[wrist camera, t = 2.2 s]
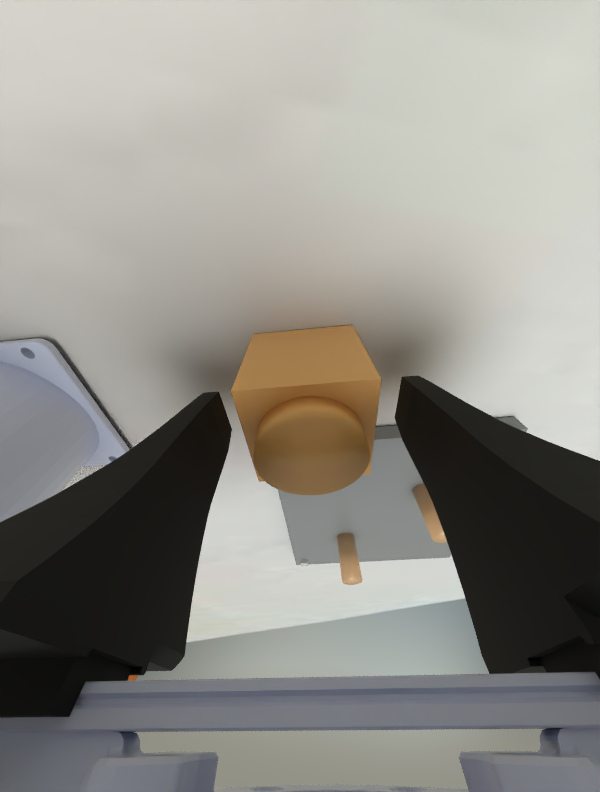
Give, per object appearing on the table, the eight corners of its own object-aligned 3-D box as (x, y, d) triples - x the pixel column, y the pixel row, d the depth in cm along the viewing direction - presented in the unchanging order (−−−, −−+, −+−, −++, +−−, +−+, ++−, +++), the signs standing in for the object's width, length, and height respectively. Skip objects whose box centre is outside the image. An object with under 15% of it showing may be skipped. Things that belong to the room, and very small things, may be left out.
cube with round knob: (269, 410, 13) (255, 505, 9) (253, 334, 11) (222, 412, 6) (349, 404, 13) (376, 497, 9) (352, 324, 11) (392, 399, 6)
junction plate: (296, 553, 24) (296, 605, 21) (269, 434, 15) (261, 496, 11) (444, 545, 23) (468, 598, 20) (514, 416, 14) (580, 476, 11)
